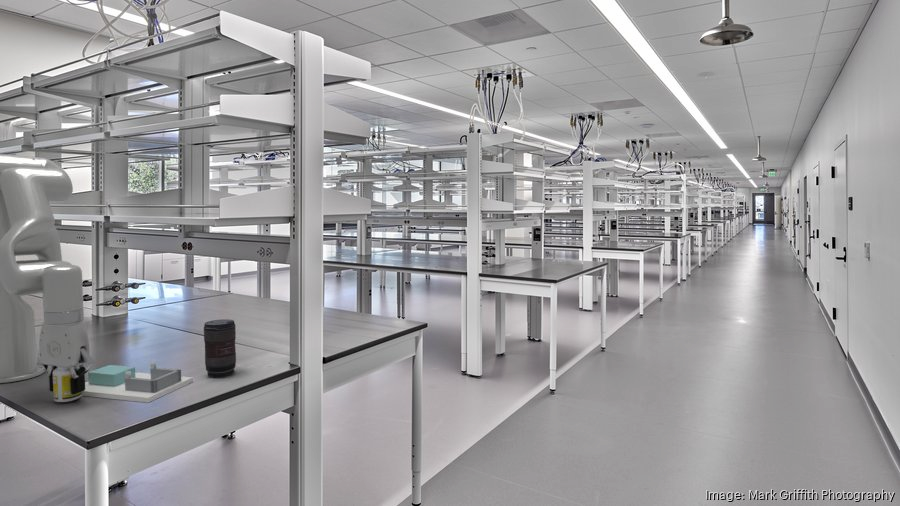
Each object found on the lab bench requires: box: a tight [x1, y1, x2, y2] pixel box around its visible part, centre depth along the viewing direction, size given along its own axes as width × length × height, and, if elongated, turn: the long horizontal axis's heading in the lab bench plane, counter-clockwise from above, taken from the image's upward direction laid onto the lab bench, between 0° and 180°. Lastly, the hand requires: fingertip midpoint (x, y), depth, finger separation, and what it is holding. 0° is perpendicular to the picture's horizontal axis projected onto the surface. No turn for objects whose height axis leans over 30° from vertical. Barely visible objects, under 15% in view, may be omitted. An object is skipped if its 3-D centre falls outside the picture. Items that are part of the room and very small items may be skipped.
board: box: [81, 361, 194, 404], centre depth 129 cm, size 24×15×6 cm, turn 78°
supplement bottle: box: [53, 366, 82, 403], centre depth 120 cm, size 5×5×10 cm
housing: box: [87, 364, 136, 386], centre depth 131 cm, size 8×6×3 cm
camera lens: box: [203, 318, 237, 379], centre depth 140 cm, size 8×8×15 cm
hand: (67, 390), depth 121 cm, fingers closed on supplement bottle, 5 cm apart
